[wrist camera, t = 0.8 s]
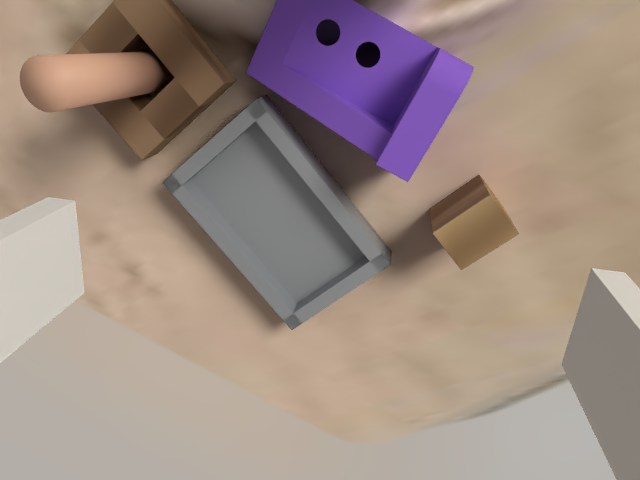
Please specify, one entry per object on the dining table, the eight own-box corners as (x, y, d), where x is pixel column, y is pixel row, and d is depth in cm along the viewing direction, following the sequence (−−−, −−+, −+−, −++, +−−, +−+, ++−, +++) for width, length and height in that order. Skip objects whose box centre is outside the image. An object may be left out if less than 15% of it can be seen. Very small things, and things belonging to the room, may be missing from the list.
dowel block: (79, 62, 37) (57, 64, 34) (154, -20, 34) (136, -25, 32) (157, 152, 38) (141, 160, 36) (236, 80, 36) (224, 83, 33)
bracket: (463, 62, 33) (476, 68, 27) (408, 157, 36) (408, 182, 30) (296, -31, 33) (270, -48, 27) (252, 71, 36) (218, 78, 29)
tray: (176, 174, 39) (162, 182, 36) (266, 95, 36) (256, 98, 33) (298, 314, 41) (291, 330, 39) (391, 251, 38) (390, 264, 36)
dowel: (131, 68, 36) (9, 79, 25) (155, 43, 36) (41, 43, 24) (156, 98, 37) (48, 123, 26) (182, 74, 36) (81, 88, 25)
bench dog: (429, 209, 37) (432, 233, 32) (479, 174, 35) (490, 194, 31) (454, 241, 37) (461, 270, 32) (504, 209, 36) (519, 233, 31)
